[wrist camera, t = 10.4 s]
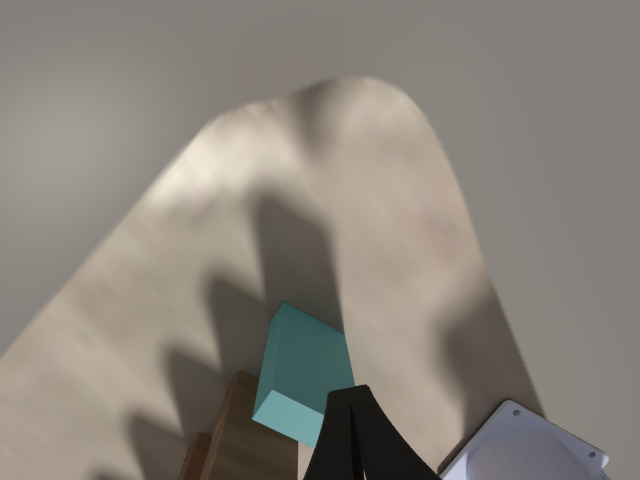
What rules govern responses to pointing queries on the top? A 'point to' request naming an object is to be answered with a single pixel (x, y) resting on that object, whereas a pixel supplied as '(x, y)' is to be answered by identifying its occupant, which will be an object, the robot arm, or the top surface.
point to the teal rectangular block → (300, 374)
